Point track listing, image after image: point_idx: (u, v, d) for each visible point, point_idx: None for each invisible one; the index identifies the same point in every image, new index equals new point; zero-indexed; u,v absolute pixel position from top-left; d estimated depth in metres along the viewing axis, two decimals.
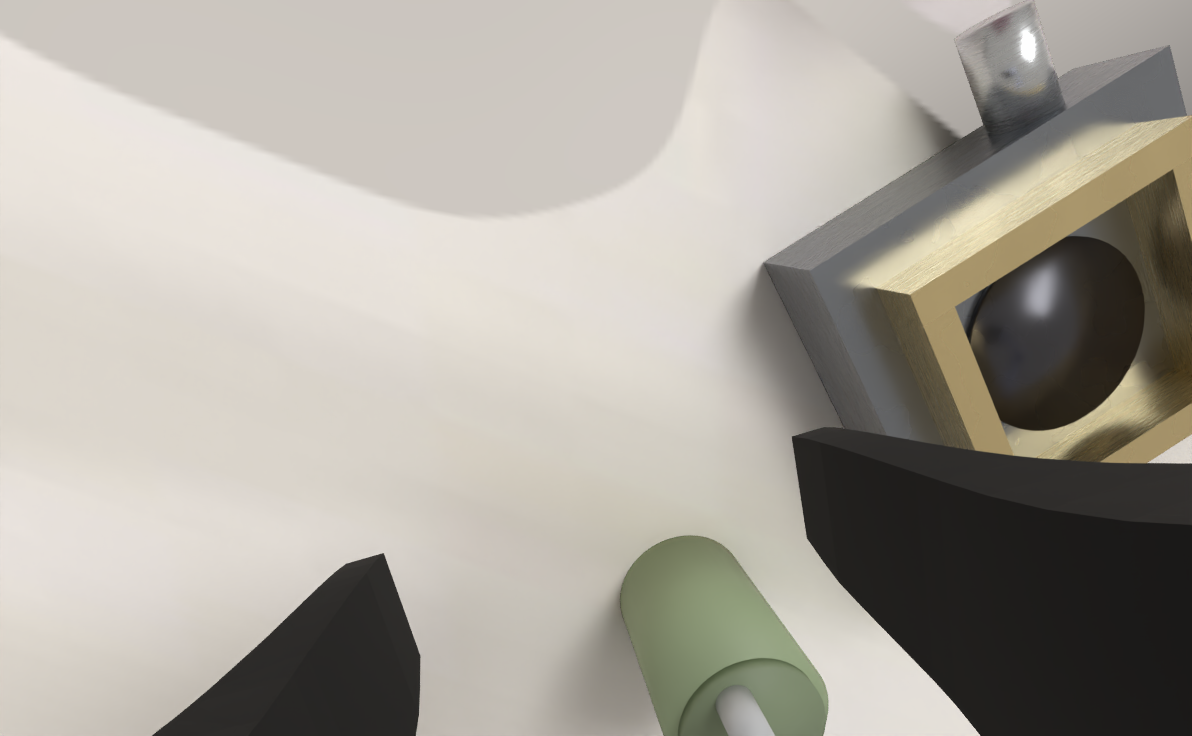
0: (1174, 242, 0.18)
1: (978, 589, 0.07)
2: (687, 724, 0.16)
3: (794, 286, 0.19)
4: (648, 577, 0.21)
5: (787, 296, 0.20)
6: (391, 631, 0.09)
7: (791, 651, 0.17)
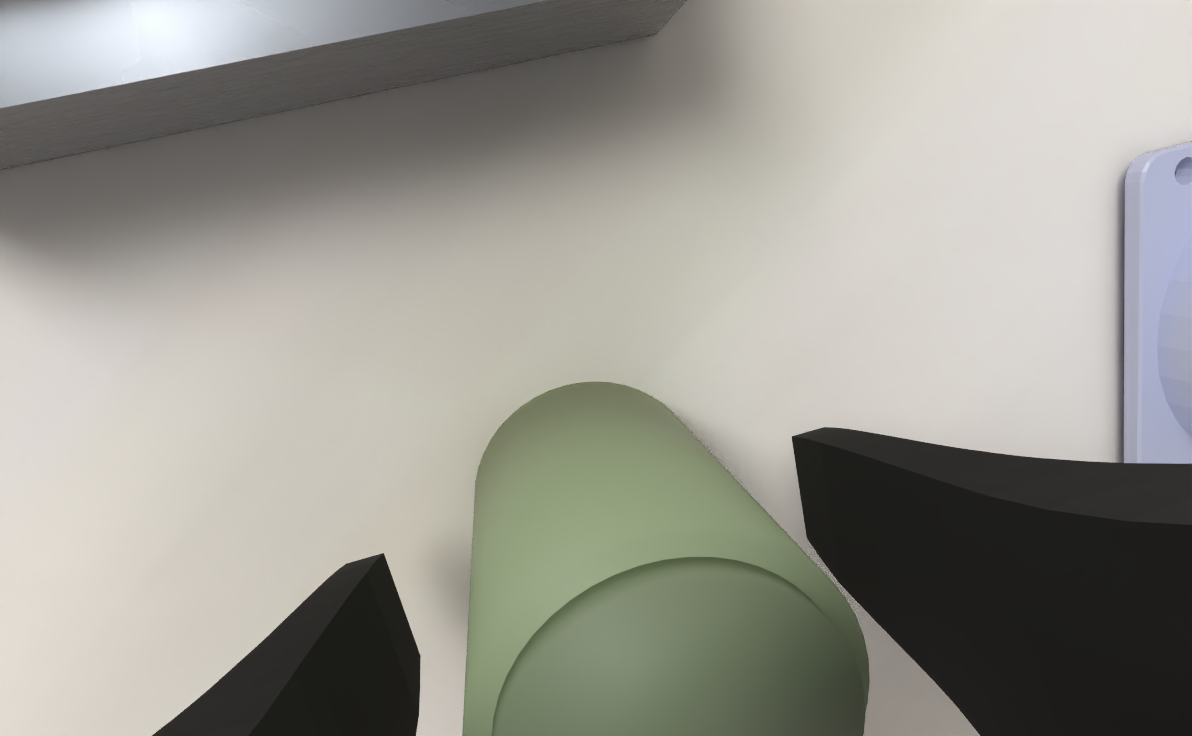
0: None
1: (977, 589, 0.07)
2: None
3: None
4: None
5: None
6: (391, 631, 0.09)
7: (525, 600, 0.06)
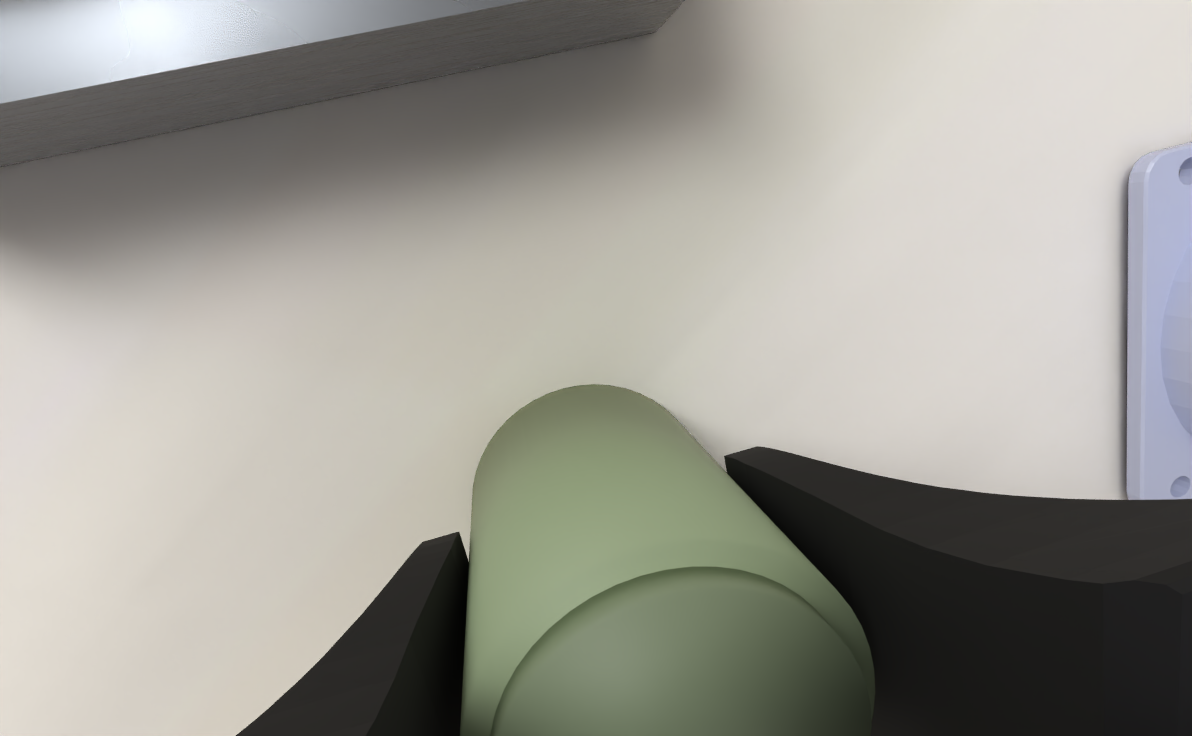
0: None
1: (878, 621, 0.07)
2: None
3: None
4: None
5: None
6: None
7: (524, 610, 0.06)
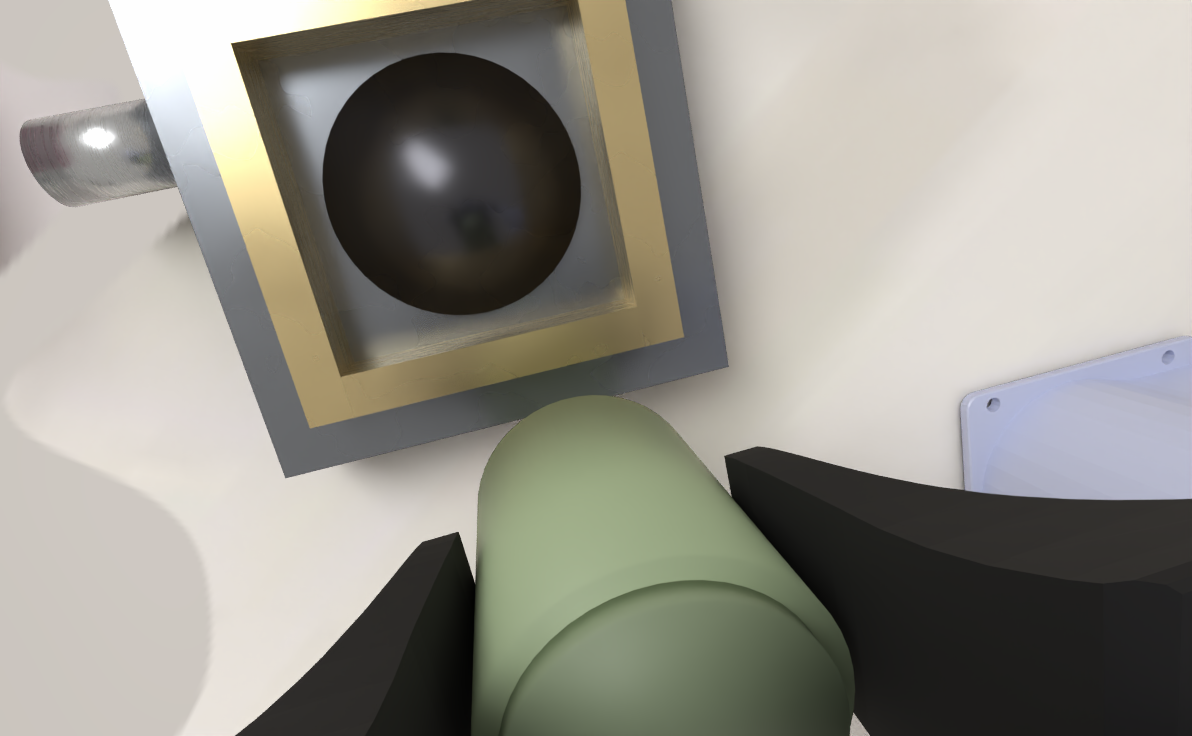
0: (352, 29, 0.13)
1: (878, 621, 0.07)
2: None
3: None
4: None
5: None
6: (471, 607, 0.09)
7: (527, 626, 0.07)
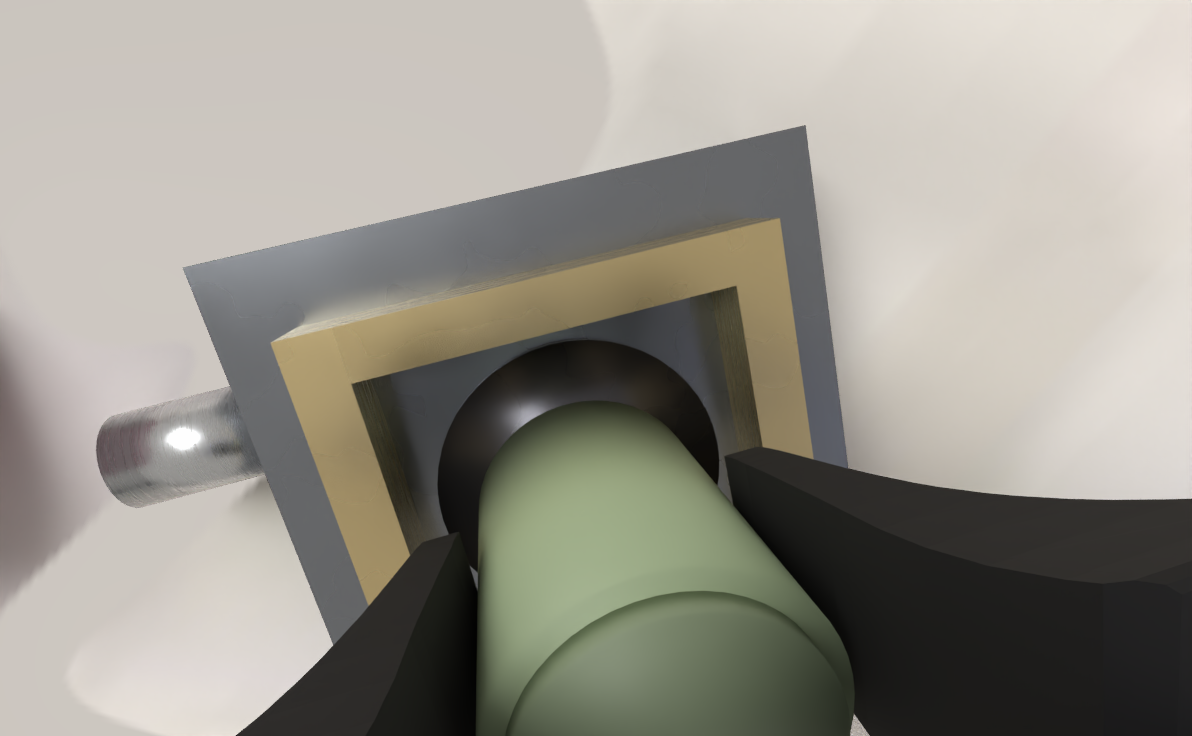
0: None
1: (878, 621, 0.07)
2: None
3: None
4: None
5: None
6: (471, 607, 0.09)
7: (528, 638, 0.07)
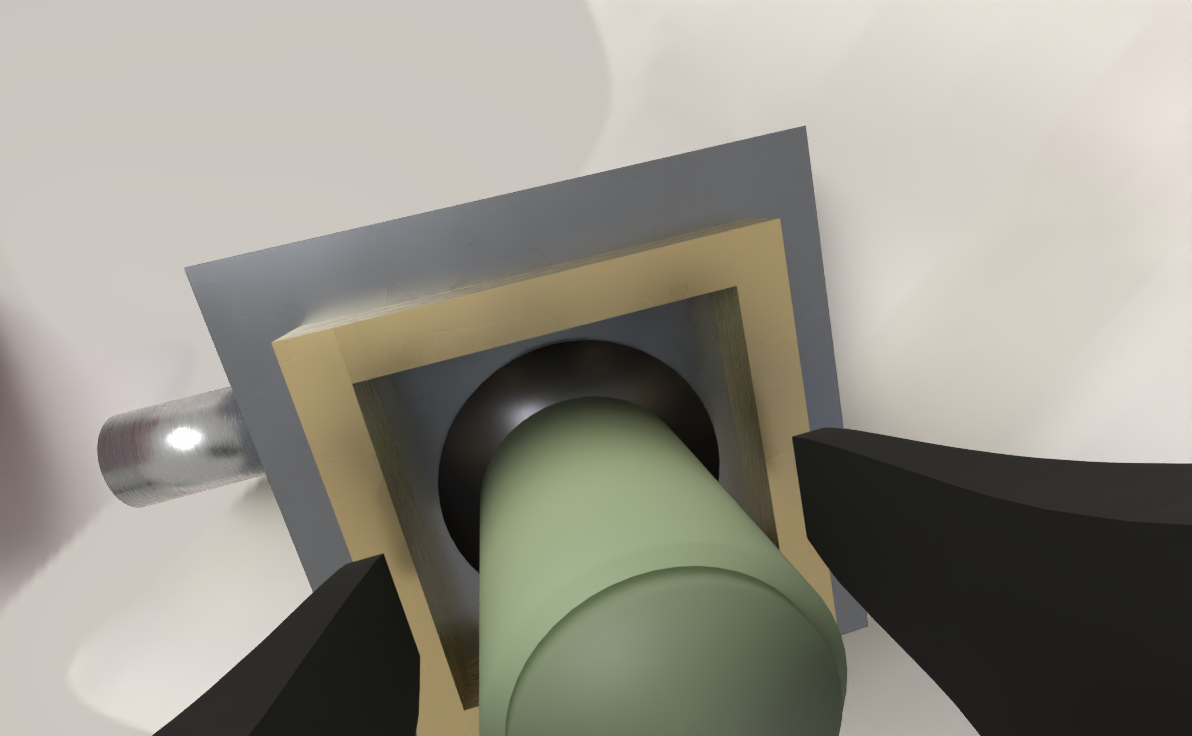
0: None
1: (977, 589, 0.07)
2: None
3: None
4: None
5: None
6: (391, 631, 0.09)
7: (530, 612, 0.07)
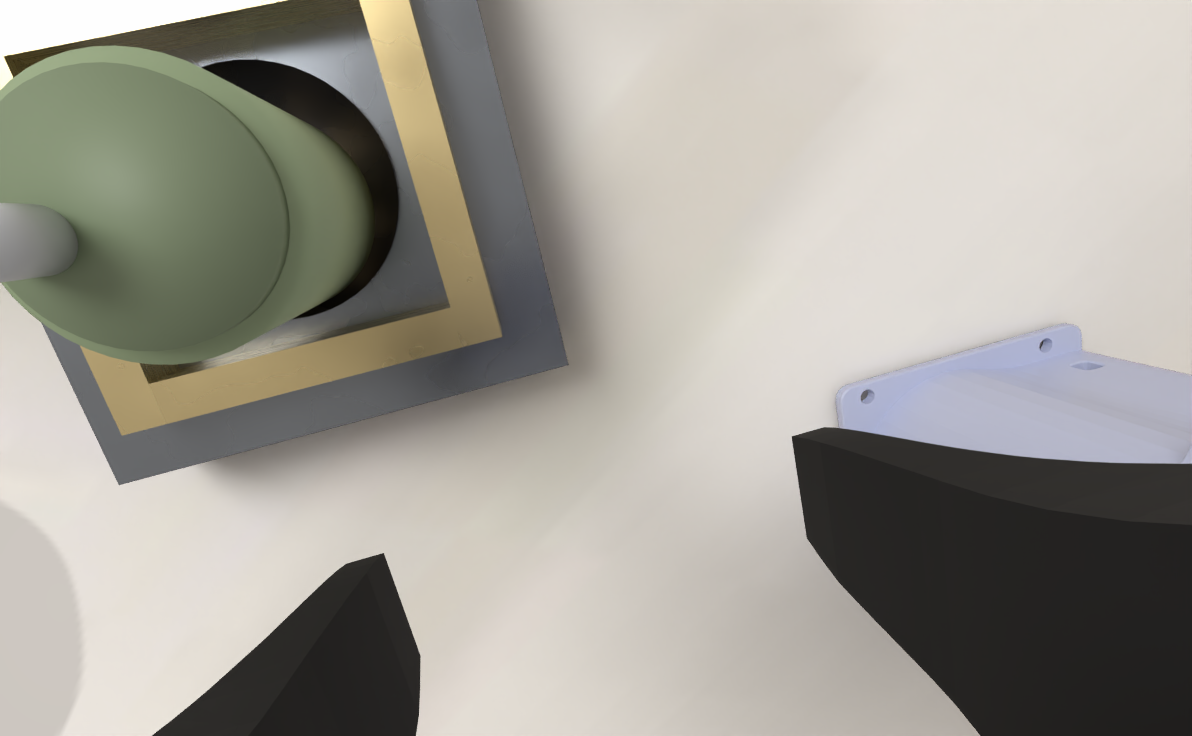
0: (134, 39, 0.13)
1: (977, 589, 0.07)
2: (82, 330, 0.09)
3: None
4: None
5: None
6: (391, 631, 0.09)
7: None
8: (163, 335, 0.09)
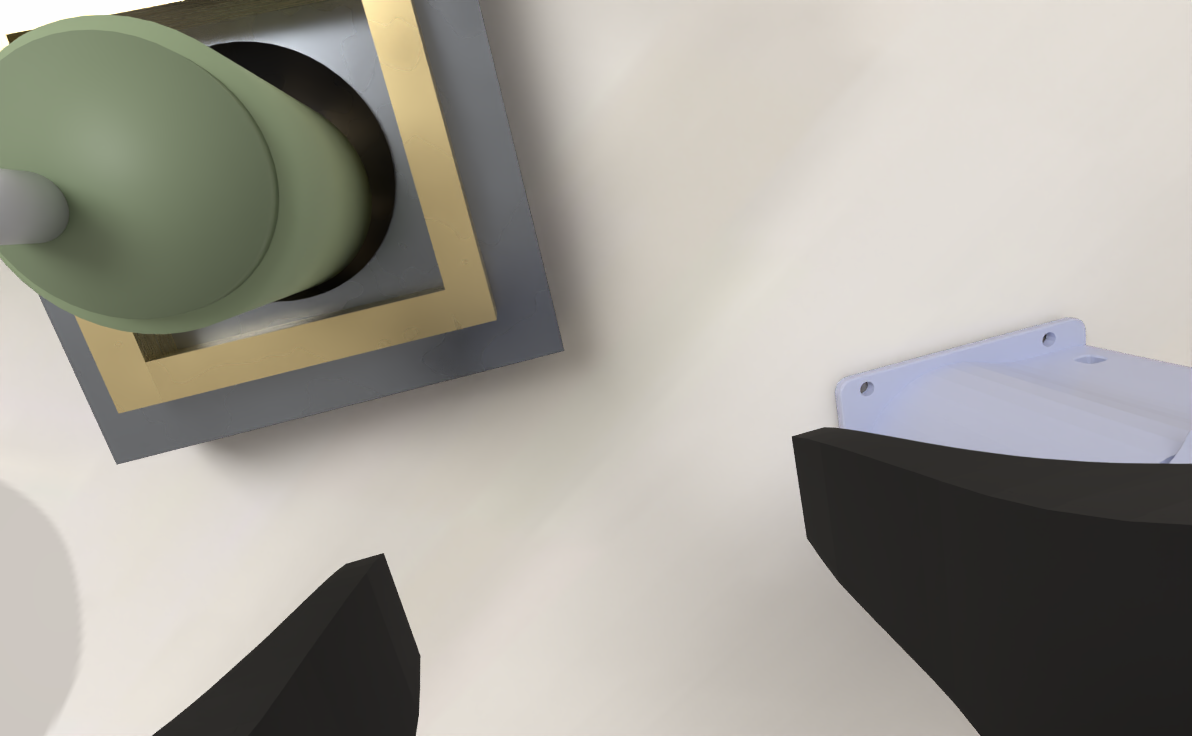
0: None
1: (978, 589, 0.07)
2: (74, 298, 0.09)
3: None
4: None
5: None
6: (391, 631, 0.09)
7: None
8: (153, 303, 0.09)
